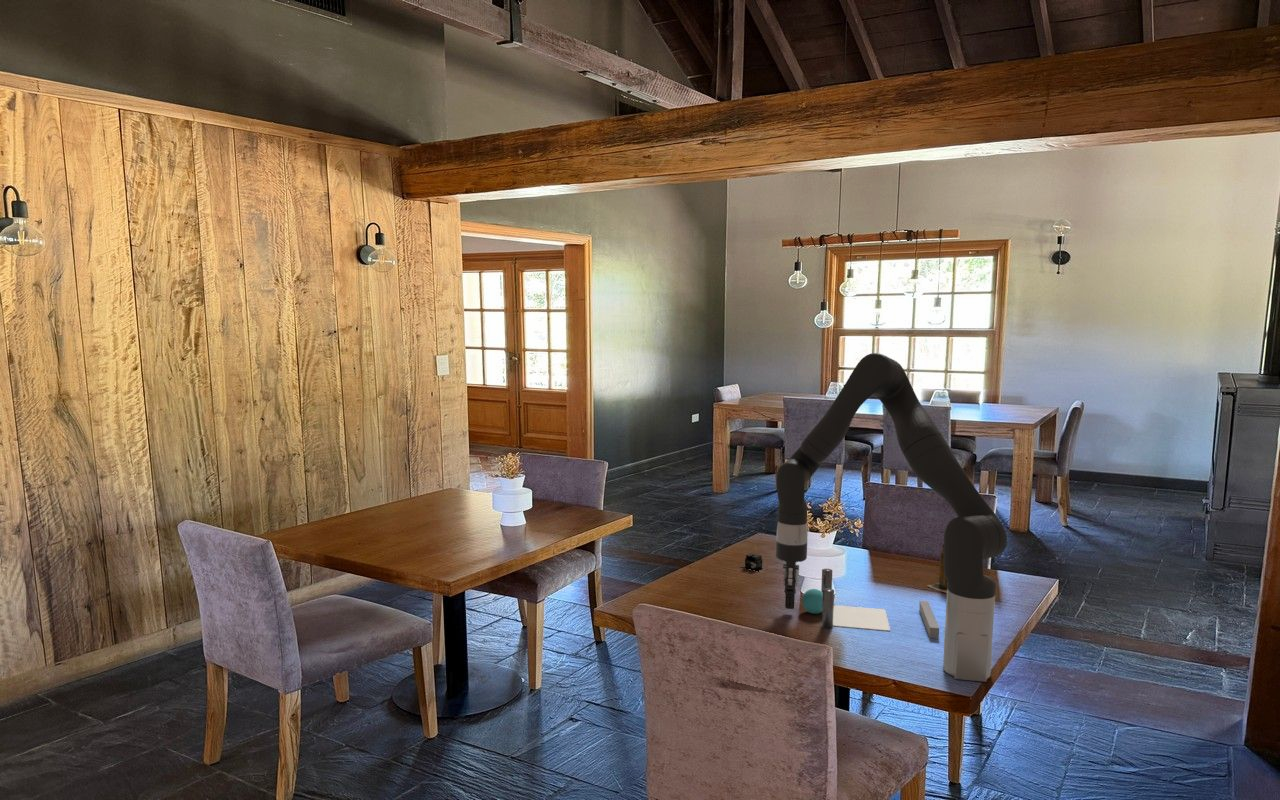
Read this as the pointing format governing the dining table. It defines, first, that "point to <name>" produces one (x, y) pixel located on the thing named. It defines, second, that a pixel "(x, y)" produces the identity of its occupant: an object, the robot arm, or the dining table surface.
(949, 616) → the robot arm
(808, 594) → the ball
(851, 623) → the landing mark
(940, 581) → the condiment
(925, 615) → the wall
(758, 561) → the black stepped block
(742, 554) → the dining table surface
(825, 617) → the post front
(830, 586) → the post back
